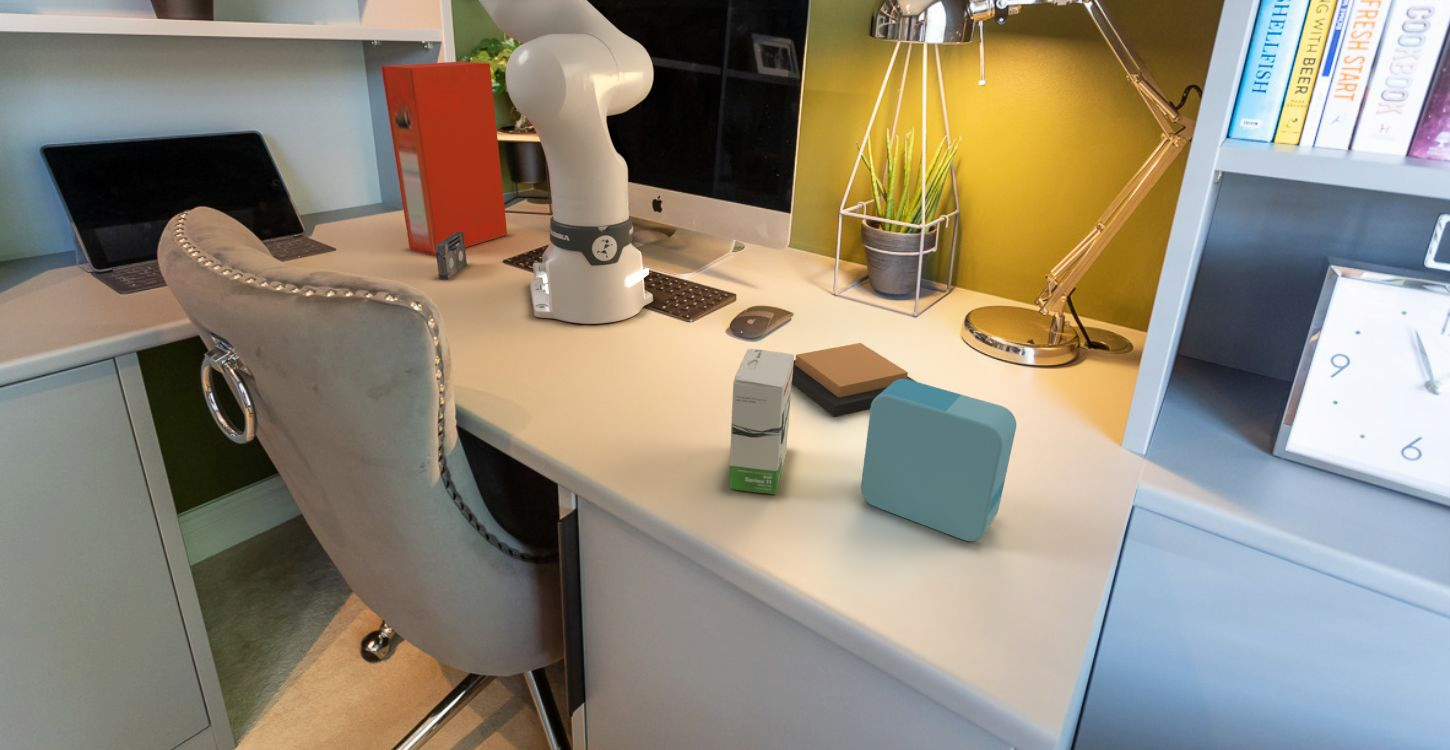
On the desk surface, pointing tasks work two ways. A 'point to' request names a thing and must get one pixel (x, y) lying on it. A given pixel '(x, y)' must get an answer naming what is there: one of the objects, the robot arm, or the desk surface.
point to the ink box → (760, 420)
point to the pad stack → (844, 377)
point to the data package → (937, 457)
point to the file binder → (446, 151)
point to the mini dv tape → (451, 255)
